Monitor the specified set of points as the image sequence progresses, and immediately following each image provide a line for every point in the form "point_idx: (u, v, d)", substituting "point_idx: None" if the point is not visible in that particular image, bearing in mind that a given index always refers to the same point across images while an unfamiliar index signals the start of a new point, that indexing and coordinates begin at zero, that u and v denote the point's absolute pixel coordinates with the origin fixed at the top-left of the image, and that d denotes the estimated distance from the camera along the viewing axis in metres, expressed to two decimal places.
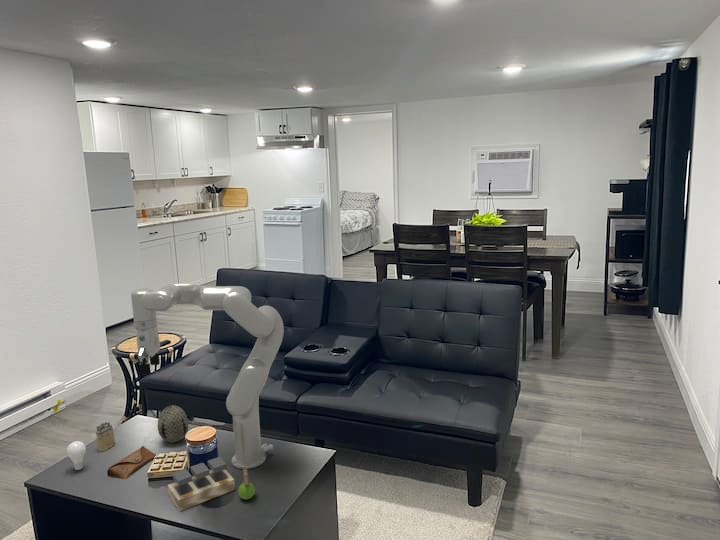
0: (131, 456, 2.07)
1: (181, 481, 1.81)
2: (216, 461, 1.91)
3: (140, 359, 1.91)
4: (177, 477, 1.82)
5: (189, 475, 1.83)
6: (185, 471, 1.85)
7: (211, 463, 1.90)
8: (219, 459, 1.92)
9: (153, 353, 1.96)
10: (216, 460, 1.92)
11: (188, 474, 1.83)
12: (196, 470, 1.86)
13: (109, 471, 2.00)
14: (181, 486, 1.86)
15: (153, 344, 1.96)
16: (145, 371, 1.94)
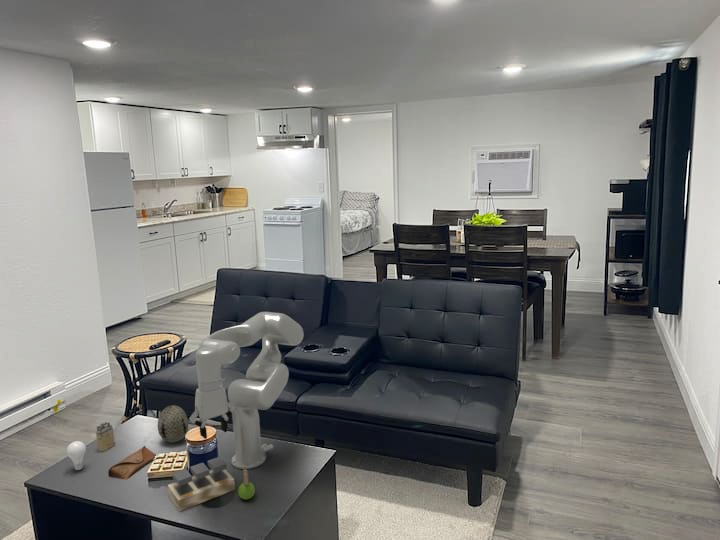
0: (132, 456, 2.07)
1: (181, 481, 1.81)
2: (216, 461, 1.91)
3: None
4: (177, 477, 1.82)
5: (189, 475, 1.83)
6: (185, 471, 1.85)
7: (211, 463, 1.90)
8: (219, 459, 1.92)
9: None
10: (216, 460, 1.92)
11: (188, 474, 1.83)
12: (196, 470, 1.86)
13: (110, 471, 2.00)
14: (181, 486, 1.86)
15: None
16: None
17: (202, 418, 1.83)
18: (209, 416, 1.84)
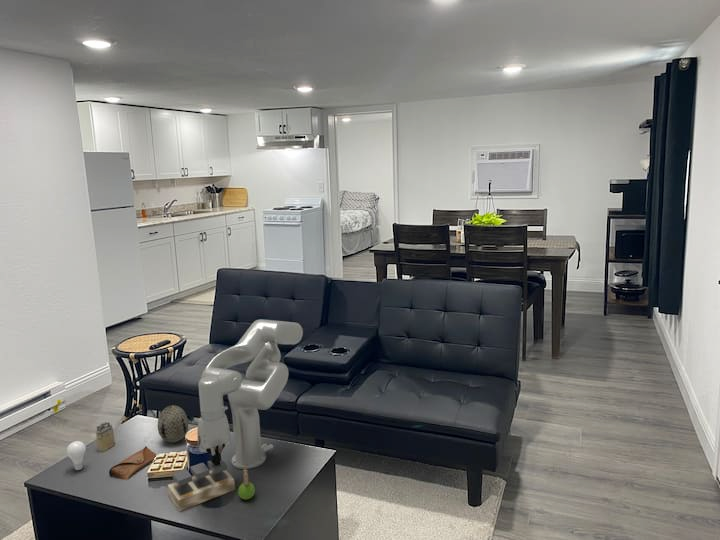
0: (133, 457, 2.06)
1: (181, 481, 1.81)
2: None
3: None
4: (177, 477, 1.82)
5: (189, 475, 1.83)
6: (185, 471, 1.85)
7: (211, 464, 1.90)
8: None
9: None
10: None
11: (188, 474, 1.83)
12: (196, 470, 1.86)
13: (111, 471, 2.00)
14: (181, 486, 1.86)
15: None
16: None
17: (204, 447, 1.85)
18: (211, 445, 1.86)
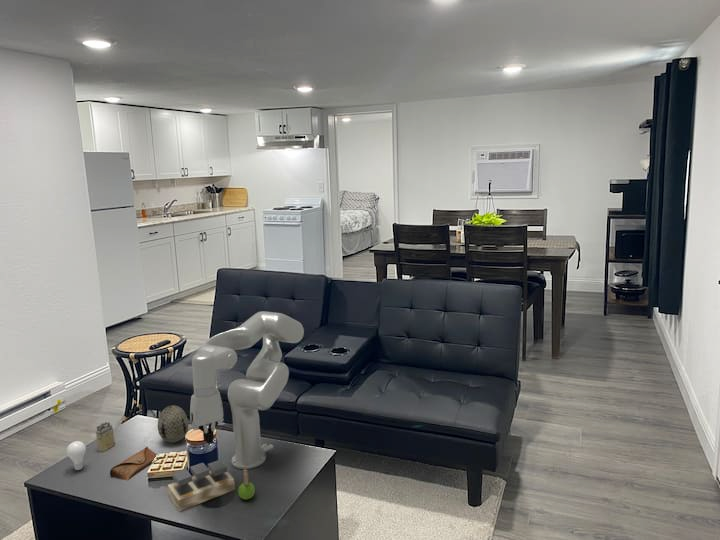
0: (134, 457, 2.06)
1: (181, 481, 1.81)
2: (216, 464, 1.91)
3: None
4: (177, 477, 1.82)
5: (189, 475, 1.83)
6: (185, 471, 1.85)
7: (211, 466, 1.90)
8: (219, 462, 1.92)
9: None
10: (216, 463, 1.92)
11: (188, 474, 1.83)
12: (196, 470, 1.86)
13: (112, 472, 1.99)
14: (181, 486, 1.86)
15: None
16: None
17: (197, 424, 1.82)
18: (204, 422, 1.83)
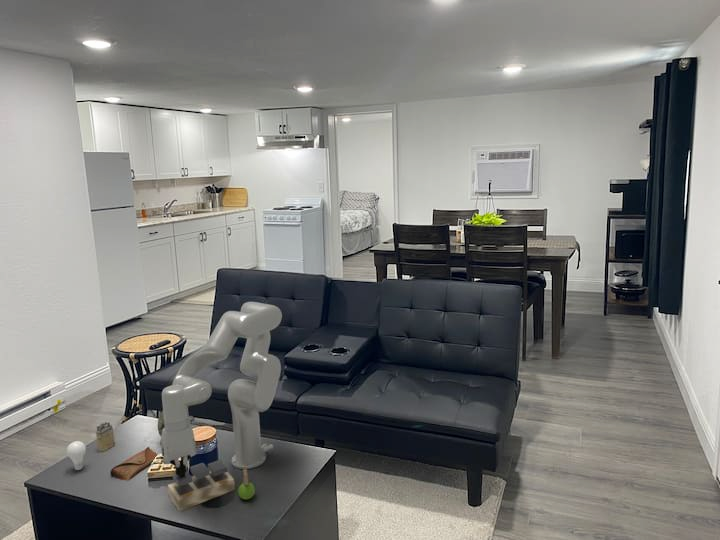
0: (135, 457, 2.06)
1: (181, 481, 1.81)
2: (216, 464, 1.91)
3: None
4: (177, 478, 1.82)
5: (189, 476, 1.83)
6: None
7: (211, 466, 1.90)
8: (219, 462, 1.92)
9: None
10: (216, 463, 1.92)
11: (188, 475, 1.84)
12: (196, 470, 1.86)
13: (112, 472, 1.99)
14: (181, 486, 1.86)
15: None
16: None
17: (168, 459, 1.78)
18: (175, 457, 1.79)
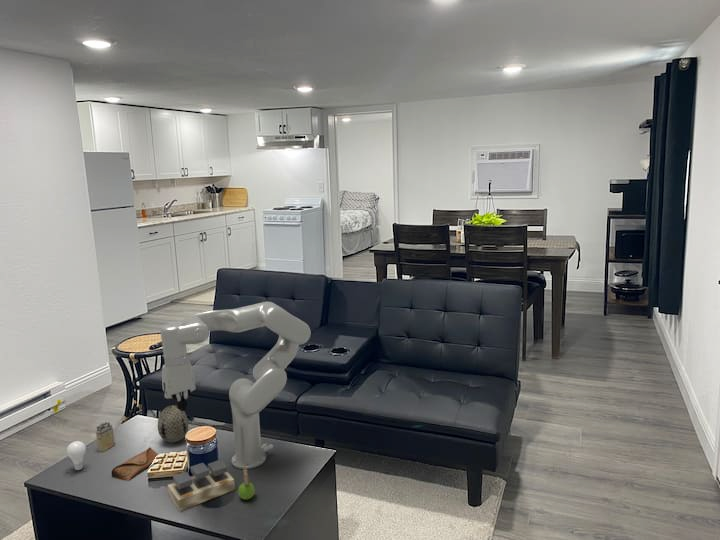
0: (136, 457, 2.06)
1: (182, 484, 1.81)
2: (216, 464, 1.91)
3: None
4: (177, 480, 1.82)
5: (189, 478, 1.83)
6: (185, 474, 1.86)
7: (211, 466, 1.90)
8: (219, 462, 1.92)
9: None
10: (216, 463, 1.92)
11: (188, 477, 1.84)
12: (196, 470, 1.86)
13: (113, 472, 1.99)
14: None
15: None
16: None
17: (169, 393, 1.87)
18: (176, 391, 1.88)
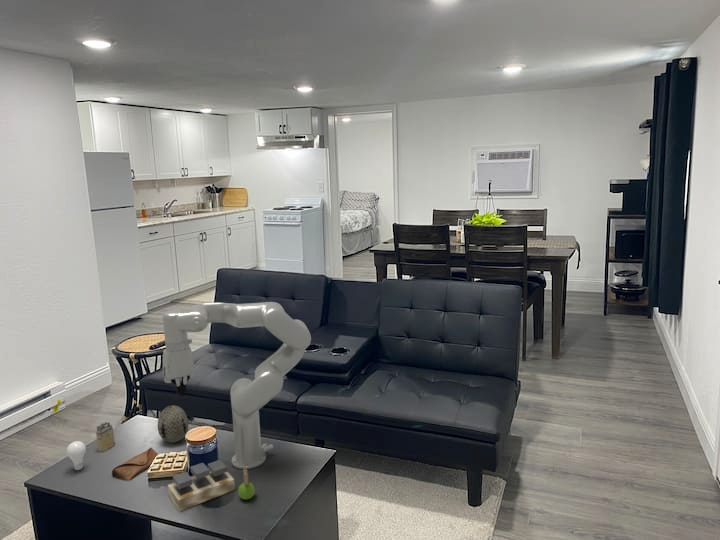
0: (137, 458, 2.06)
1: (182, 484, 1.81)
2: (216, 464, 1.91)
3: None
4: (177, 480, 1.82)
5: (189, 478, 1.83)
6: (185, 474, 1.86)
7: (211, 466, 1.90)
8: (219, 462, 1.92)
9: None
10: (216, 463, 1.92)
11: (188, 477, 1.84)
12: (196, 470, 1.86)
13: (113, 472, 1.99)
14: None
15: None
16: None
17: (169, 377, 1.92)
18: (176, 376, 1.93)
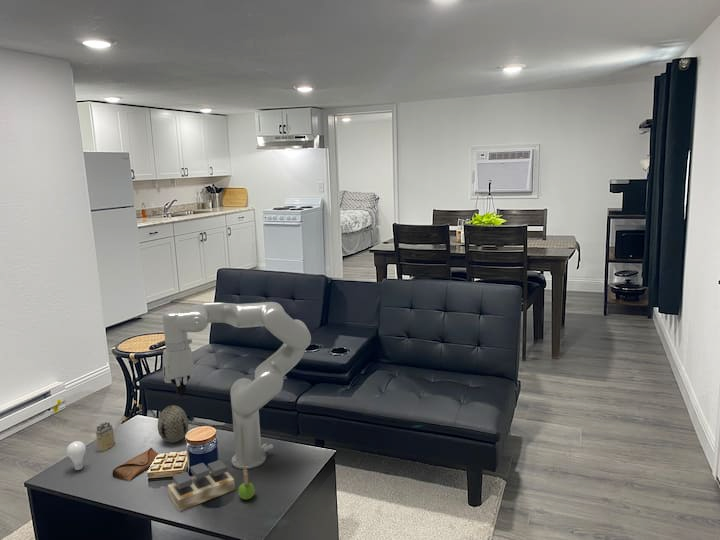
0: (137, 458, 2.05)
1: (182, 484, 1.81)
2: (216, 464, 1.91)
3: None
4: (177, 480, 1.82)
5: (189, 478, 1.83)
6: (185, 474, 1.86)
7: (211, 466, 1.90)
8: (219, 462, 1.92)
9: None
10: (216, 463, 1.92)
11: (188, 477, 1.84)
12: (196, 470, 1.86)
13: (114, 472, 1.99)
14: None
15: None
16: None
17: (169, 377, 1.92)
18: (176, 376, 1.93)
